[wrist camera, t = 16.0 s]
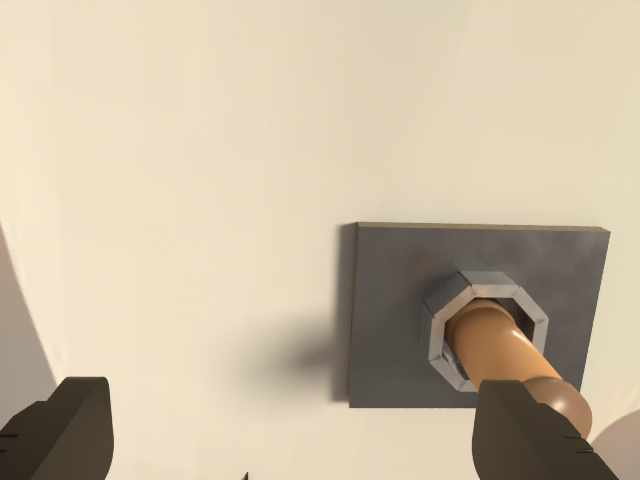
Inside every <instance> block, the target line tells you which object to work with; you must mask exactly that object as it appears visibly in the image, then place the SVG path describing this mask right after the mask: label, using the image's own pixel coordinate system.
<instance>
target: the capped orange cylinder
mask: <svg viewBox="0 0 640 480" xmlns="http://www.w3.org/2000/svg"><path fill="white" fill-rule="evenodd" d="M444 339H445V340H446V342H447V344H448V346H449V348H450V350H451V351H452V353H453V355H454V356H455V357H456V358H457V359H458V360H460V362H461V364H462V366H463V368H464V369H465V371H466V373H467V375H468V377H469V378H470V380H471V382H472V384H473V386H474V387H475V389H476V391H477V393H478V391H479V386H480V383H481V382H482V381H483V380H485V379H491V380H519V381H521V382H522V384H523V385H524V386H525V387H526V389H527V390H528V391H529V393H530V394H531V395H532V396H533V398H534V399H535V400H536V401H537V403H546V404H547V405H549V406H550V407H552V408H553V409H555V410H556V411H558V412H559V413H561V414H562V415H564V416H565V417H567V418H568V420H569V421H570V422H571V423H572V424H573V426H574V427H575V428H576V429H577V430H578V431H579V433H580V434H581V437H582V438H584V439H585V440H586V439H587V437H588V435H589V433H590V430H591V426H592V413H591V409H590V407H589V405H588V403H587V401H586V400H585V399H584V398H583V397H582V395H581V394H580V393H579V392H578V391H577V390H576V389H575V388H574V387H573V386H572V385H571V384H570V383H568V382H566V381H564V380H563V379H562V378H561V377H560V375H559V374H558V373H557V372H556V371H555V370H554V368H553V367H552V366H551V365H550V364H549V363H548V362H547V360H546V359H545V358H544V357H543V356H542V355H541V353H540V352H539V351H538V350H537V349H536V348H535V347H534V345H533V344H532V343H531V342H530V341H529V340H528V339H527V337H526V336H525V335H524V334H523V333H522V332H521V330H520V329H519V328H518V327H517V326H516V324H515V321H514V319H513V318H512V316H511V315H510V314H509V313H508V311H507V310H506V309H505V308H504V307H503V306H502V305H501V304H500V303H499V302H498V301H497V300H496V299H494V298H492V297H474V298H473V299H472V300H471V301H470V302H468V303H467V304H466V305H465V306H464V307H462V308H461V309H460V310H459V311H458V312H456V313H455V314H454V315H453V316H452V317H451V318H449V319H448V320H447V321H446V322H445V327H444Z"/></svg>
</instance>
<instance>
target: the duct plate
mask: <svg viewBox="0 0 640 480" xmlns="http://www.w3.org/2000/svg"><path fill="white" fill-rule="evenodd" d="M610 233H611V232H610V231H608V230H606V229H604V228H601V227H579V226H531V225H483V224H434V223H386V222H357V234H356V253H355V271H354V290H353V309H352V327H351V346H350V364H349V383H348V403H349V408H476V406H477V399H478V393H477V391H476V389H475V387H474V386H473V384H472V382H471V380H470V378H469V377H468V375H467V373H466V371H465V369H464V368H463V366H462V364H461V362H460V360H458V359H457V358H456V357H455V356H454V355H453V353H452V351H451V350H450V348H449V346H448V344H447V342H446V340H445V339H444V327H445V322H446V321H447V320H448V319H449V318H451V317H452V316H453V315H454V314H455V313H456V312H458V311H459V310H460V309H461V308H462V307H464V306H465V305H466V304H467V303H468V302H470V301H471V300H472V299H473V298H474V297H492V298H494V299H496V300H497V301H498V302H499V303H500V304H501V305H502V306H503V307H504V308H505V309H506V310H507V311H508V313H509V314H510V315H511V316H512V318H513V319H514V321H515V324H516V326H517V327H518V328H519V329H520V330H521V332H522V333H523V334H524V335H525V336H526V337H527V339H528V340H529V341H530V342H531V343H532V344H533V345H534V347H535V348H536V349H537V350H538V351H539V352H540V353H541V355H542V356H543V357H544V358H545V359H546V360H547V362H548V363H549V364H550V365H551V366H552V367H553V368H554V370H555V371H556V372H557V373H558V374H559V375H560V377H561V378H562V379H563V380H564V381H566V382H568V383H570V384H571V385H572V386H573V387H574V388H575V389H576V390H577V391H578V392H579V393H580V389H581V384H582V378H583V373H584V368H585V363H586V358H587V352H588V347H589V342H590V337H591V332H592V326H593V321H594V316H595V311H596V306H597V300H598V295H599V290H600V285H601V279H602V274H603V269H604V264H605V259H606V253H607V248H608V243H609V238H610Z"/></svg>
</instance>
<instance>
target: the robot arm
mask: <svg viewBox="0 0 640 480" xmlns="http://www.w3.org/2000/svg"><path fill="white" fill-rule="evenodd" d="M113 450H114V436H113V425H112V414H111V402H110V391H109V384H108V381H107V379H106V378H105V377H66V378H65V379H64V380H63V381H62V382H61V384H60V385H59V386H58V387H57V389H56V390H55V391H54V392H53V394H52V395H51V396H50V398H49V399H48V400H47V401H36V402H35V403H33V404H32V405H30V406H28V407H27V408H25V409H24V410H22V411H21V412H19V413H18V414H16V415H14V416H13V417H12V418H11V419H10V420H9V422H8V423H7V424H6V425H5V426H4V427H3V428H2V430H1V431H0V480H105V478H106V476H107V474H108V472H109V469H110V466H111V462H112V457H113ZM472 455H473V461H474V466H475V469H476V471H477V474H478V476H479V478H480V480H619V479H618V478H617V477H616V476H615V474H614V473H613V472H612V471H611V470H610V469H609V467H608V466H607V465H606V464H605V462H604V461H603V460H602V459H601V458H600V457H599V456H598V454H597V453H594V451H593V448H592V447H591V446H590V445H589V443H588V442H587V441H586V440H585V439H584V438H582V437H581V434H580V433H579V431H578V430H577V429H576V428H575V427H574V426H573V424H572V423H571V422H570V421H569V420H568V418H567V417H565V416H564V415H562V414H561V413H559V412H558V411H556V410H555V409H553V408H552V407H550V406H549V405H547V404H546V403H537V401H536V400H535V399H534V398H533V396H532V395H531V394H530V393H529V391H528V390H527V389H526V387H525V386H524V385H523V384H522V382H521V381H519V380H491V379H485V380H483V381H482V382H481V383H480V386H479V391H478V399H477V406H476V414H475V421H474V429H473V437H472Z"/></svg>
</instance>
